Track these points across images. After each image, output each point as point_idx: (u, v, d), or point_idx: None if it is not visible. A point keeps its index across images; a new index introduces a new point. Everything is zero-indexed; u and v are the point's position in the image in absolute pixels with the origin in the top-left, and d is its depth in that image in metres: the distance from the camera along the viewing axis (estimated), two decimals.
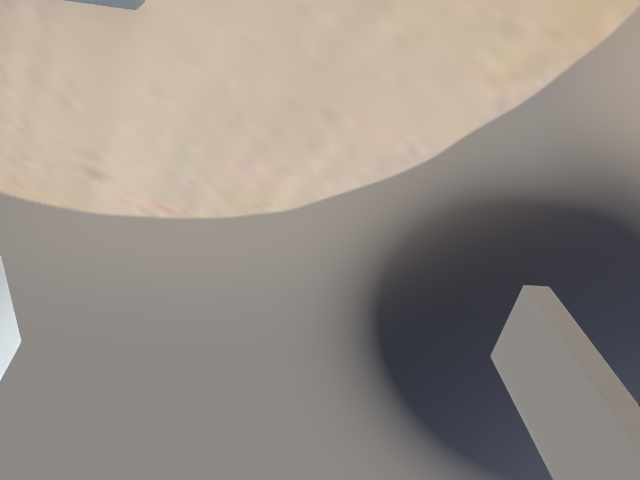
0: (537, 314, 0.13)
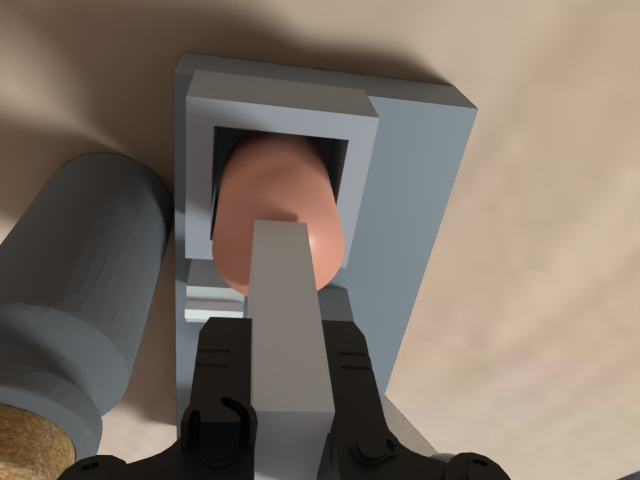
0: (281, 244, 0.14)
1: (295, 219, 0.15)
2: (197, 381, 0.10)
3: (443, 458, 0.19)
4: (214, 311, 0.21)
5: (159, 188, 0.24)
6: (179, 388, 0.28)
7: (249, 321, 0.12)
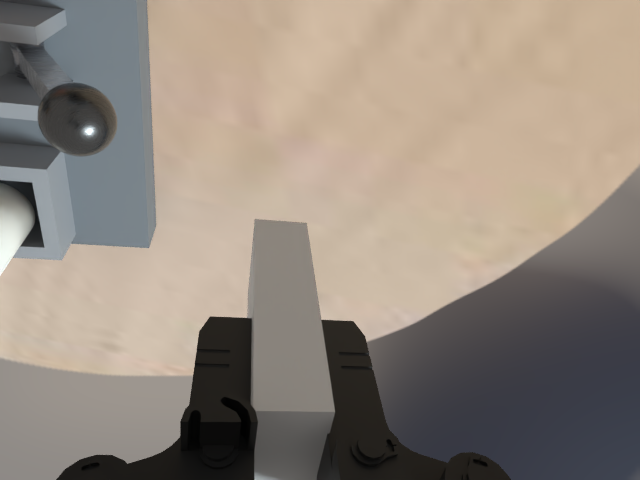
0: (281, 245, 0.14)
1: None
2: (197, 381, 0.10)
3: None
4: None
5: None
6: None
7: (249, 321, 0.12)
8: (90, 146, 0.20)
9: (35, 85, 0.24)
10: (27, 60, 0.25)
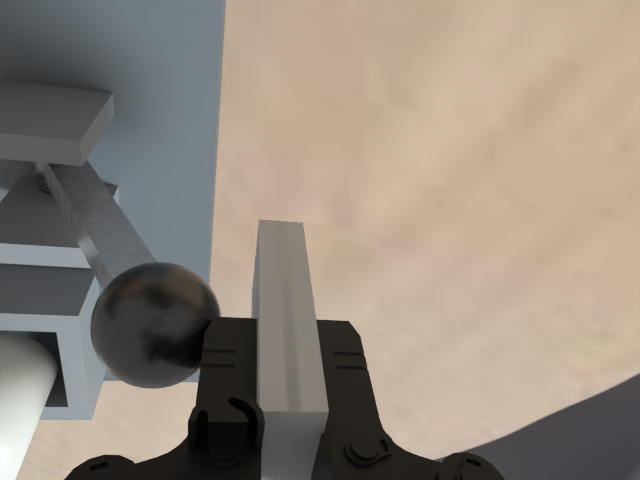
0: (277, 244, 0.14)
1: None
2: (203, 381, 0.10)
3: (149, 263, 0.12)
4: None
5: None
6: None
7: (254, 321, 0.12)
8: (181, 379, 0.12)
9: (73, 227, 0.15)
10: (60, 184, 0.16)
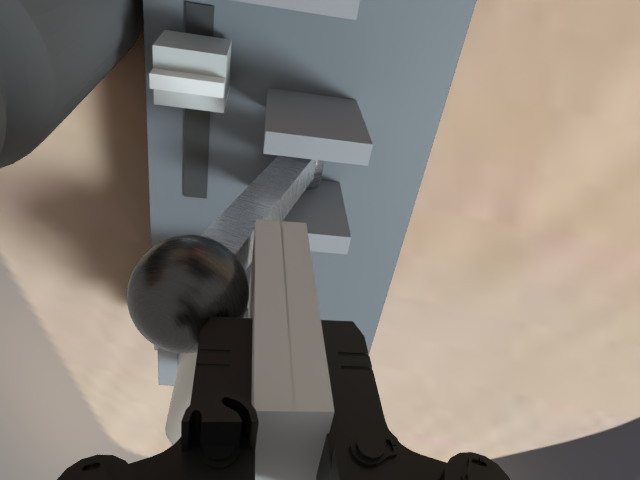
0: (280, 244, 0.14)
1: None
2: (198, 381, 0.10)
3: (209, 238, 0.13)
4: (187, 80, 0.17)
5: None
6: (154, 236, 0.24)
7: (250, 321, 0.12)
8: (161, 345, 0.12)
9: None
10: (266, 169, 0.18)
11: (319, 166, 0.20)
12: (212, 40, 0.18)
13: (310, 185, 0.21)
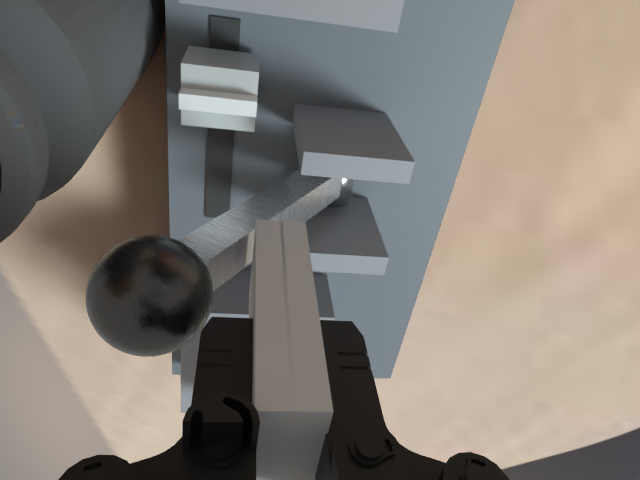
0: (279, 244, 0.14)
1: None
2: (199, 381, 0.10)
3: (177, 241, 0.12)
4: (218, 100, 0.16)
5: None
6: None
7: (250, 321, 0.12)
8: (109, 343, 0.12)
9: None
10: (281, 181, 0.17)
11: (346, 184, 0.19)
12: (239, 55, 0.17)
13: (335, 203, 0.20)
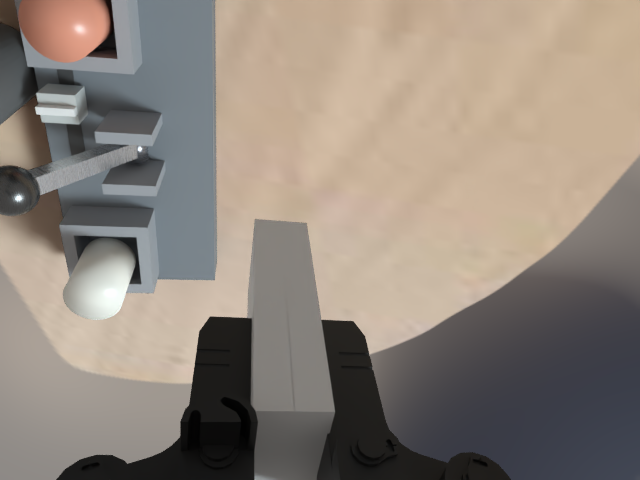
0: (281, 244, 0.14)
1: (60, 2, 0.27)
2: (197, 381, 0.10)
3: (20, 167, 0.30)
4: (55, 109, 0.33)
5: None
6: (61, 200, 0.40)
7: (249, 321, 0.12)
8: None
9: None
10: (95, 148, 0.35)
11: (140, 151, 0.37)
12: (72, 87, 0.35)
13: (136, 162, 0.37)
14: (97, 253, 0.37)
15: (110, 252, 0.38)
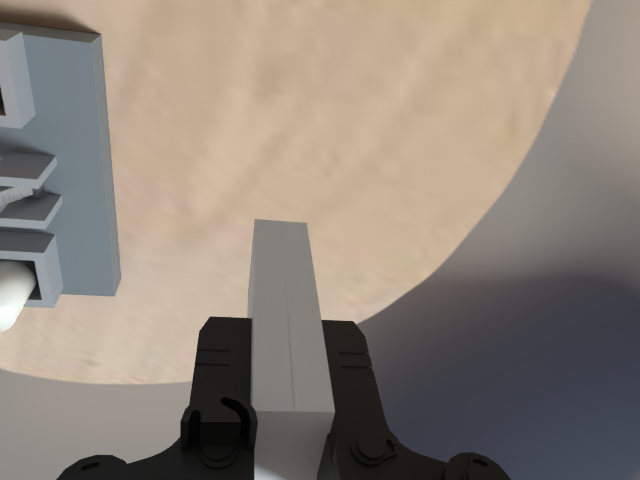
0: (281, 244, 0.14)
1: None
2: (197, 381, 0.10)
3: None
4: None
5: None
6: None
7: (249, 321, 0.12)
8: None
9: None
10: None
11: (35, 188, 0.43)
12: None
13: (32, 197, 0.43)
14: None
15: (8, 273, 0.44)
